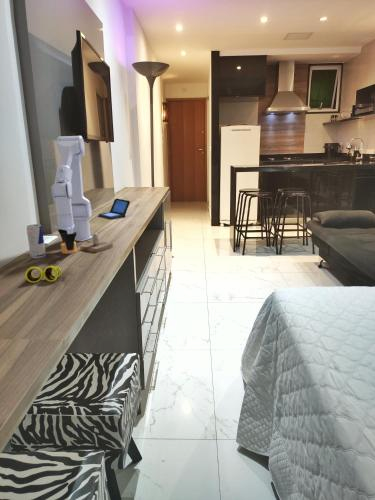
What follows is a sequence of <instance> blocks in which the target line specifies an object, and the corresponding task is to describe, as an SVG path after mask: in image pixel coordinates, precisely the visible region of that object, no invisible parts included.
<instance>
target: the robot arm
mask: <svg viewBox="0 0 375 500" xmlns="http://www.w3.org/2000/svg"><path fill="white" fill-rule="evenodd" d="M56 146H57V150H58V151H59V153H60V166H58V167H57V168H56V173H55V179H54V183H53V184H51V197H52V198H53V203H54V204H55V212H56V217H57V224H58V225H55V226H54V228H55V229H57V231H58V233H59V236H60V238H61V240H62V243H63V242H65V244H66V247H67V250H68V251H69V250H73V249H74V242H76V241H78V242H84V241H87V240H92V239H93V235H91V229H90V220H89V219H90V218H91V217H92V214H93V209H92V204H91V201H90V200H89V199H88V198H86V197H85V196H84V184H83V183H84V182H83V172H82V171H83V170H82V158H84V157H85V155H86V150H85V149H86V148H85V140H84V138H83V136H82V135H71V136H70V135H69V136H68V135H67V136H66V135H63V136H62V135H59V136H58V137H57V139H56Z"/></svg>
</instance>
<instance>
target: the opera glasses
mask: <svg viewBox="0 0 375 500" xmlns="http://www.w3.org/2000/svg"><path fill="white" fill-rule="evenodd" d="M34 270H37V271H38V272H39V276H37V277H36V276H34V275H33V274H32V272H33V271H34ZM53 271H54V273H55V274H53ZM61 275H62V269H61V268H60V267H59V266H54V265H49V266H46V267H45V268H44V270H42V269H41V268H40V267H38V266H31V267H29V268H27V269H26V271H25V275H24V277H25V279H26V281H28V282H29V283H32V284H34V283H38V282H40V281H41V280H42V279H43V277H44V279H45V281H47V282H53V283H54V282H55V281H57V279H58V278H59V277H61Z"/></svg>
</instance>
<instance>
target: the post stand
mask: <svg viewBox="0 0 375 500" xmlns="http://www.w3.org/2000/svg"><path fill="white" fill-rule="evenodd" d="M92 236H93V238H92V242H89V243H86V244H83V245H80V246H79V247H80V250H81V251H85V252H91V253H100V252H103V251H105V249H106V250H108V249H111V248H113V244H114V243H112V242H106V241H100V237H99V234H98V233H93V234H92ZM110 247H111V248H110Z"/></svg>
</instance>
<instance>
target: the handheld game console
mask: <svg viewBox="0 0 375 500" xmlns="http://www.w3.org/2000/svg"><path fill="white" fill-rule="evenodd" d="M130 201H131V200H126V199H120V198H115V199H114V200H113V203H112V206H111V209H110V210H109V211H108V212H107V211H106V212H103V213H99V214H98V217H100V218H104V219H109V220H117V219H121V218H126V214H127V211H128V208H129V206H130V203H131V202H130Z"/></svg>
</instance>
